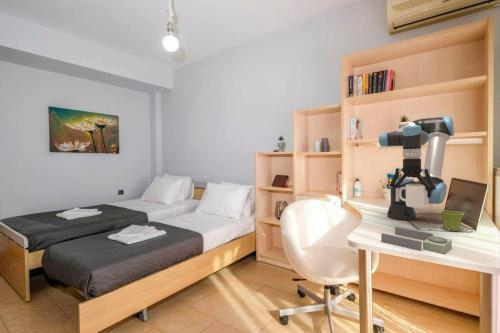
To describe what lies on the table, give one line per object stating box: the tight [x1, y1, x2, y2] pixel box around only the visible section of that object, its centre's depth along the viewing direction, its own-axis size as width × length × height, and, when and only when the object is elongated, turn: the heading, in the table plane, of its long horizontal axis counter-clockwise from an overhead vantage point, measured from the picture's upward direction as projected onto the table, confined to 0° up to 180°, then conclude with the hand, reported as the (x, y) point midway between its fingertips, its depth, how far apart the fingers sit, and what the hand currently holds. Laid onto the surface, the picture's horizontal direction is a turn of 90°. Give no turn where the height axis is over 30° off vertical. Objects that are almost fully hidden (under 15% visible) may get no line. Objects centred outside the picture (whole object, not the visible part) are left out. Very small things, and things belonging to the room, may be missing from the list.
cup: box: [399, 184, 427, 209], centre depth 125 cm, size 8×12×10 cm
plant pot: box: [439, 210, 465, 232], centre depth 128 cm, size 9×9×9 cm
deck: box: [380, 226, 453, 255], centre depth 110 cm, size 16×22×4 cm
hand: (411, 202), depth 125 cm, fingers closed on cup, 12 cm apart
